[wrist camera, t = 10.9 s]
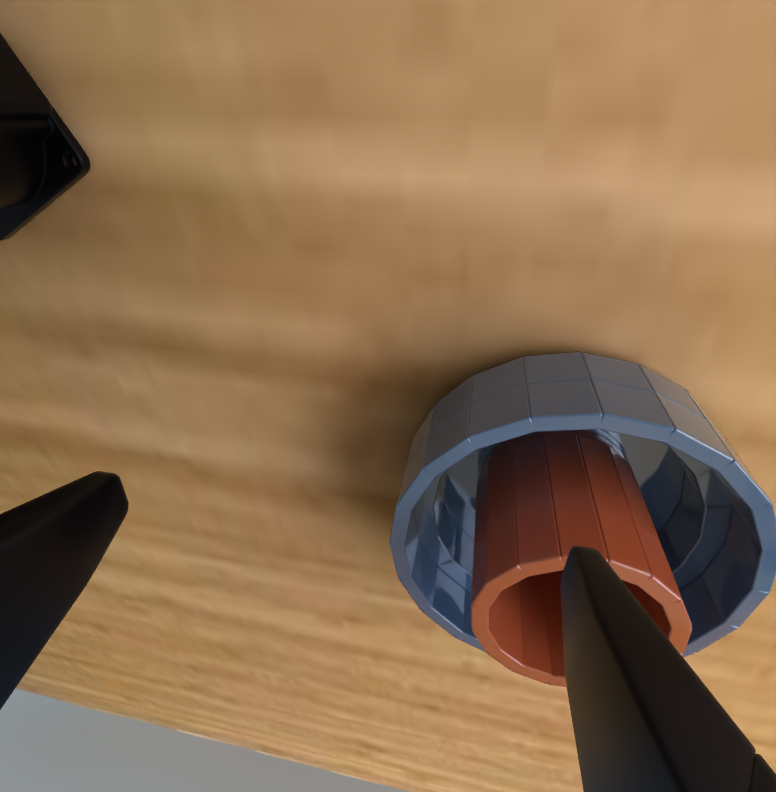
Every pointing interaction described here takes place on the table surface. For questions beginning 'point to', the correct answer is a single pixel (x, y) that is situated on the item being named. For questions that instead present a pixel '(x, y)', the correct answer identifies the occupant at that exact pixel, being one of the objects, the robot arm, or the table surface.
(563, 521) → the pot
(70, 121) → the table surface
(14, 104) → the robot arm
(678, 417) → the bowl
